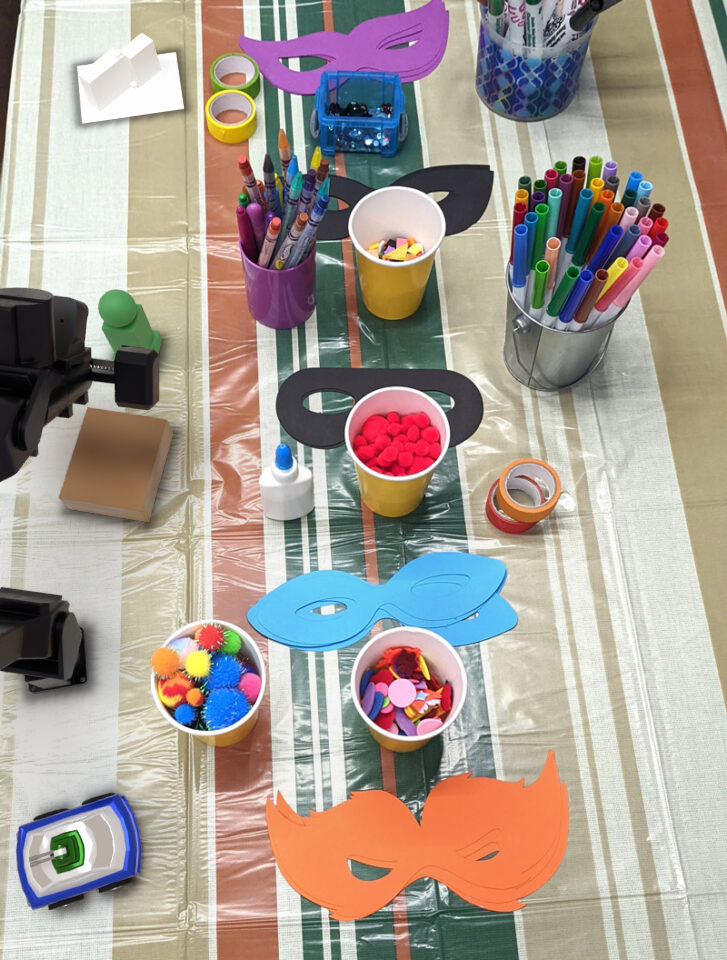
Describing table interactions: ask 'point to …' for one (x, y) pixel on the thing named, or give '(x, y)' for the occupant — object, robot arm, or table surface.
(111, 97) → the napkin holder
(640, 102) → the table surface
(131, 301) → the toy pawn
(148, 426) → the oak block
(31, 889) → the toy car
